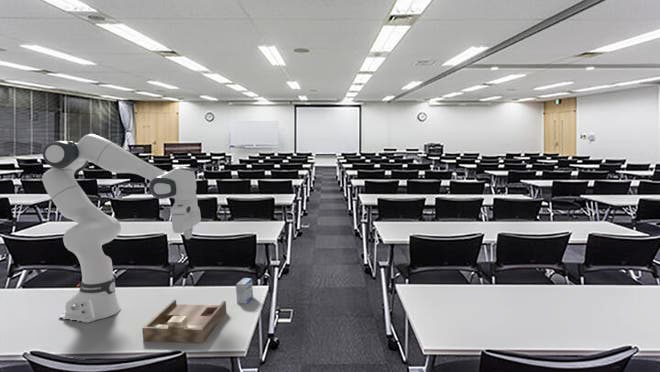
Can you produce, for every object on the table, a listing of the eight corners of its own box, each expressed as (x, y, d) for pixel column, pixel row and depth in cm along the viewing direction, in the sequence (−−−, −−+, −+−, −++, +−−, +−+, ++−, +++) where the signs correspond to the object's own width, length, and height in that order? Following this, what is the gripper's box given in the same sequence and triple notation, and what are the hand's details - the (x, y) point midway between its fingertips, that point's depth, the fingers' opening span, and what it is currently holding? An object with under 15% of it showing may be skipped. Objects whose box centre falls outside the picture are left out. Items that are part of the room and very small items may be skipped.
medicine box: (246, 304, 187) (245, 284, 186) (236, 303, 188) (235, 284, 187) (253, 296, 195) (252, 278, 193) (243, 296, 195) (242, 277, 194)
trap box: (143, 341, 156) (142, 327, 156) (174, 311, 181) (173, 299, 180) (202, 343, 154) (202, 329, 153) (226, 312, 179) (225, 300, 178)
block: (168, 332, 156) (167, 322, 155) (174, 326, 161) (173, 315, 160) (181, 332, 156) (181, 322, 155) (187, 326, 161) (186, 316, 160)
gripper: (189, 201, 192) (191, 232, 194) (168, 210, 172) (170, 244, 174) (203, 201, 191) (205, 232, 193) (183, 210, 171) (185, 245, 173)
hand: (188, 238), depth 183 cm, fingers closed
